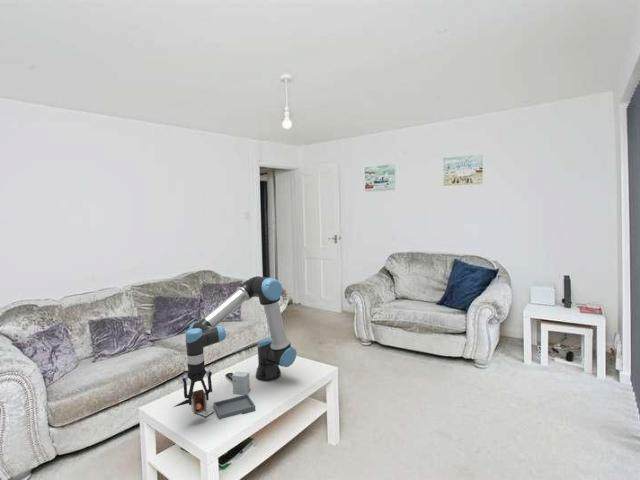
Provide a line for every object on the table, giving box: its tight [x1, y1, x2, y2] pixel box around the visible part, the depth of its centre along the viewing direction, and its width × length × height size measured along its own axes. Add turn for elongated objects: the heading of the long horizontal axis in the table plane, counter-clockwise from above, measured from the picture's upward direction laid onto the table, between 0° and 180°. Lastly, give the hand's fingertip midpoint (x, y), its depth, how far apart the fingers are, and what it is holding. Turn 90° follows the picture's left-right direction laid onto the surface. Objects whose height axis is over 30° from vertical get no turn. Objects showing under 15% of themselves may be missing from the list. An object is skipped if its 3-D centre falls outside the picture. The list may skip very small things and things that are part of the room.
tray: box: [213, 393, 257, 420], centre depth 186 cm, size 18×14×2 cm
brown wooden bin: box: [192, 388, 207, 415], centre depth 174 cm, size 5×6×8 cm
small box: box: [231, 371, 251, 396], centre depth 204 cm, size 8×6×10 cm
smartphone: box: [173, 398, 189, 408], centre depth 188 cm, size 8×17×1 cm, turn 149°
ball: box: [195, 403, 202, 410], centre depth 173 cm, size 3×3×3 cm
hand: (199, 408), depth 174 cm, fingers closed on brown wooden bin, 5 cm apart
